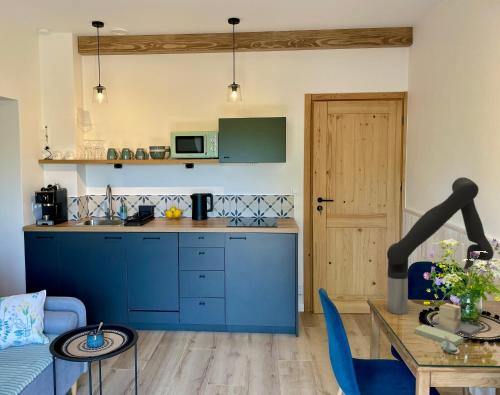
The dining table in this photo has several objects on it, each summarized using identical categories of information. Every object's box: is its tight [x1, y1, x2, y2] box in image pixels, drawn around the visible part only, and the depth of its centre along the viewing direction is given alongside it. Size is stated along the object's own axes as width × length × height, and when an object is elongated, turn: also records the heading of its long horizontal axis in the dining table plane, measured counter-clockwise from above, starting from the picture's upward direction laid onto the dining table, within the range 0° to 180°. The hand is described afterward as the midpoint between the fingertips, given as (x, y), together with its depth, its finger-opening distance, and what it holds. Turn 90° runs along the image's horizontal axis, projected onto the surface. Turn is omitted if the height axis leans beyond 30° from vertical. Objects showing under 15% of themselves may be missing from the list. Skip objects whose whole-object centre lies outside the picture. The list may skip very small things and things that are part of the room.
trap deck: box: [414, 317, 482, 347], centre depth 170 cm, size 22×17×2 cm
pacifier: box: [441, 335, 460, 355], centre depth 154 cm, size 7×6×6 cm
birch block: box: [438, 302, 462, 331], centre depth 171 cm, size 6×6×9 cm
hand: (453, 315), depth 173 cm, fingers closed
